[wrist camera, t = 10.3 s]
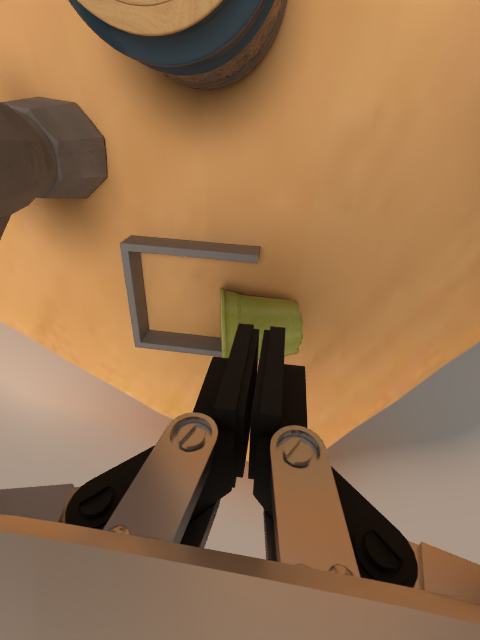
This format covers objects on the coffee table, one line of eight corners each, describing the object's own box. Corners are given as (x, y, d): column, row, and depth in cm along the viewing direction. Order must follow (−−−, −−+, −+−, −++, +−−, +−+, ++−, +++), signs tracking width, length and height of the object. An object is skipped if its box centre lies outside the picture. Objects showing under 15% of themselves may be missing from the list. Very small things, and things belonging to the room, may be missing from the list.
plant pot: (309, 376, 31) (222, 379, 30) (287, 362, 40) (221, 364, 40) (308, 282, 31) (220, 283, 30) (286, 290, 40) (219, 290, 40)
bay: (260, 246, 34) (258, 255, 32) (251, 346, 41) (249, 360, 39) (131, 235, 36) (119, 243, 33) (144, 334, 43) (135, 347, 40)
